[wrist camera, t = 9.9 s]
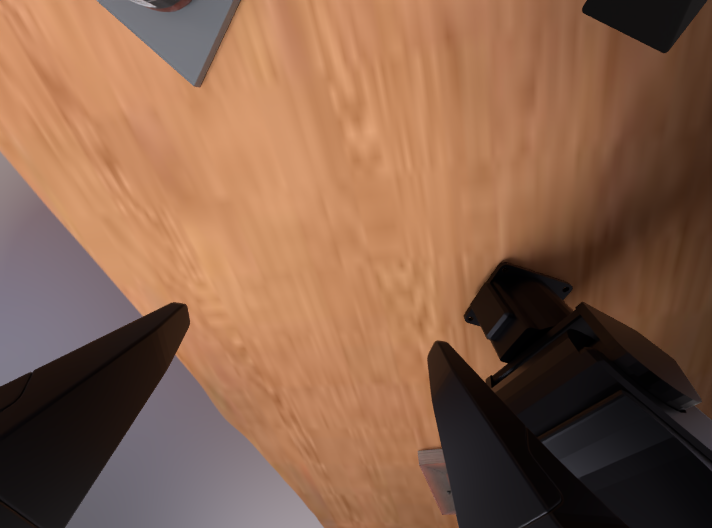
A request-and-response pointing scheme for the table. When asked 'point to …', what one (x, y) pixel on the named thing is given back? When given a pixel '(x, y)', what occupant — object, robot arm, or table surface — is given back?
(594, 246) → the table surface
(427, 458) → the picture frame
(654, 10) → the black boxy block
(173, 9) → the supplement bottle
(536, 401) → the robot arm
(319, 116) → the table surface
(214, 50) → the slate coaster
